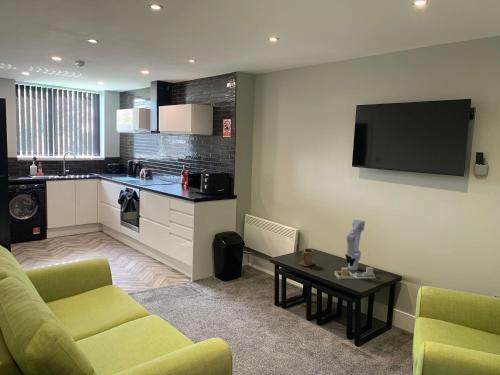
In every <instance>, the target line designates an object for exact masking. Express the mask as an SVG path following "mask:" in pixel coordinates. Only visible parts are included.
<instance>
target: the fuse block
mask: <svg viewBox="0 0 500 375" xmlns="http://www.w3.org/2000/svg"><path fill="white" fill-rule="evenodd" d="M352 274H353V275H354V277H355V279H377V277H376V276H375V273H374V272H373V276H368V277H367V274H366V271H363V272H362V273H358V272H356V271H355V272H354V273H352Z"/></svg>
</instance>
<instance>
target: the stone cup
mask: <svg viewBox="0 0 500 375" xmlns="http://www.w3.org/2000/svg"><path fill="white" fill-rule="evenodd" d="M301 254H302V256H301V257H302V261H299V263H298V264H299V265H300V266H302V267H303V266H304V267H309V266H311V265H314V264H316V261H315V260H314V259H313V258H314V255H315V251H314V249H313V248H304V249H303V251H302V253H301Z"/></svg>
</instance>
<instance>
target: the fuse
mask: <svg viewBox="0 0 500 375" xmlns="http://www.w3.org/2000/svg"><path fill="white" fill-rule="evenodd" d="M365 273H366V274H367V277H368V276H373V273H374V267H371V266H369V267H367V266H366V267H365Z"/></svg>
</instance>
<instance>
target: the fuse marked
mask: <svg viewBox="0 0 500 375" xmlns="http://www.w3.org/2000/svg"><path fill="white" fill-rule="evenodd" d="M340 271H341V273H340V274H341V275H340V276H349V273H348V271H349V268H347V267H341V270H340Z"/></svg>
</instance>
